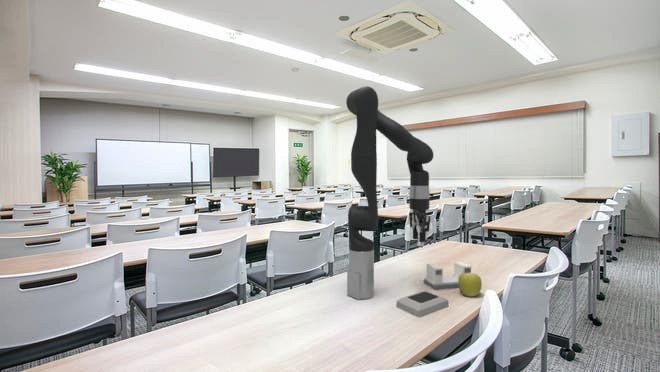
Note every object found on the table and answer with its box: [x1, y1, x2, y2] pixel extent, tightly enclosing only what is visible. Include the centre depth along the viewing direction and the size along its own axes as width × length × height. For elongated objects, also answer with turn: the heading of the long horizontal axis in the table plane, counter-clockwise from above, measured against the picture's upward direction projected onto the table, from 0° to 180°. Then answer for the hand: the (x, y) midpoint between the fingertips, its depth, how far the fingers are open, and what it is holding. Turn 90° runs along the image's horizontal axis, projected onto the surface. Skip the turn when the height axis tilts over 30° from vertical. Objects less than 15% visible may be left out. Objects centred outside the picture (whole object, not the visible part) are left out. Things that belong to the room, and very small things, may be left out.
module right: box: [453, 261, 472, 278], centre depth 131 cm, size 4×7×6 cm, turn 11°
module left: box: [425, 263, 444, 284], centre depth 128 cm, size 4×7×6 cm, turn 11°
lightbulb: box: [416, 221, 434, 248], centre depth 126 cm, size 6×6×11 cm
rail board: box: [423, 275, 460, 291], centre depth 130 cm, size 17×8×2 cm, turn 101°
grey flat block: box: [396, 289, 449, 319], centre depth 109 cm, size 10×4×15 cm
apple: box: [458, 272, 482, 298], centre depth 119 cm, size 8×8×10 cm
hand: (418, 240), depth 125 cm, fingers closed on lightbulb, 5 cm apart
